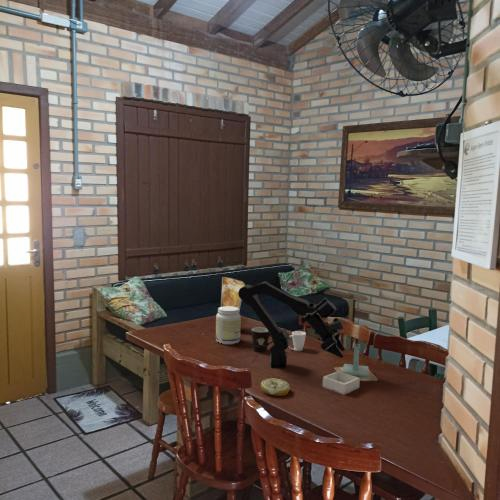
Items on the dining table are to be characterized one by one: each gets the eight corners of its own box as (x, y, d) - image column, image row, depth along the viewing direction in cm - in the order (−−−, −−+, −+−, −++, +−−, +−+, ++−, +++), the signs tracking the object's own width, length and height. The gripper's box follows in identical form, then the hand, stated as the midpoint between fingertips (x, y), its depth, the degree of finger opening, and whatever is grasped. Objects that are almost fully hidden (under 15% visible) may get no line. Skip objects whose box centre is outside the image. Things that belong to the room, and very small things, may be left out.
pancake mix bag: (225, 324, 273) (226, 275, 270) (244, 332, 257) (246, 281, 254) (215, 326, 269) (216, 276, 266) (234, 334, 254) (235, 282, 251)
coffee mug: (248, 351, 226) (248, 330, 225) (254, 346, 234) (255, 326, 233) (271, 355, 222) (272, 334, 221) (277, 350, 230) (278, 329, 229)
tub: (322, 387, 185) (322, 377, 185) (337, 380, 193) (338, 371, 192) (344, 395, 178) (345, 384, 178) (359, 388, 186) (359, 378, 185)
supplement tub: (244, 340, 243) (245, 308, 241) (230, 346, 233) (231, 312, 231) (224, 336, 250) (225, 304, 248) (210, 342, 239) (211, 308, 238)
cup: (308, 350, 230) (309, 334, 229) (289, 352, 226) (290, 336, 225) (301, 346, 236) (301, 330, 236) (283, 348, 232) (283, 332, 232)
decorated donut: (272, 399, 173) (272, 389, 172) (255, 389, 182) (255, 380, 181) (294, 393, 179) (295, 384, 178) (277, 384, 188) (277, 374, 187)
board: (343, 380, 192) (343, 379, 192) (334, 368, 206) (334, 367, 206) (377, 380, 194) (377, 379, 194) (366, 368, 208) (366, 367, 207)
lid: (342, 375, 196) (343, 347, 195) (344, 367, 206) (345, 340, 205) (367, 378, 194) (369, 350, 193) (368, 370, 203) (369, 343, 202)
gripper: (330, 318, 191) (357, 348, 189) (334, 308, 209) (359, 335, 207) (309, 335, 194) (335, 365, 192) (315, 324, 212) (339, 351, 210)
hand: (343, 353), depth 200 cm, fingers open, 9 cm apart
